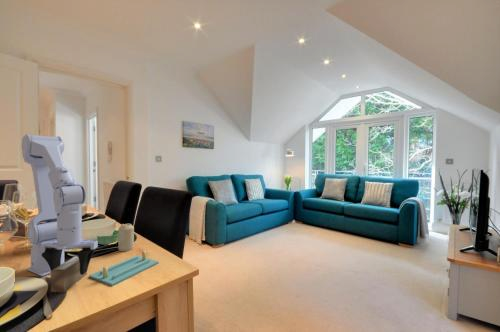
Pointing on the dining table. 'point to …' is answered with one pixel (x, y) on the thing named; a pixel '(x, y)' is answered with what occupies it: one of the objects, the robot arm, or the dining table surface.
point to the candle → (126, 237)
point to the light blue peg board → (124, 269)
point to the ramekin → (108, 238)
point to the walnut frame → (66, 275)
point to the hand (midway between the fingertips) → (70, 273)
